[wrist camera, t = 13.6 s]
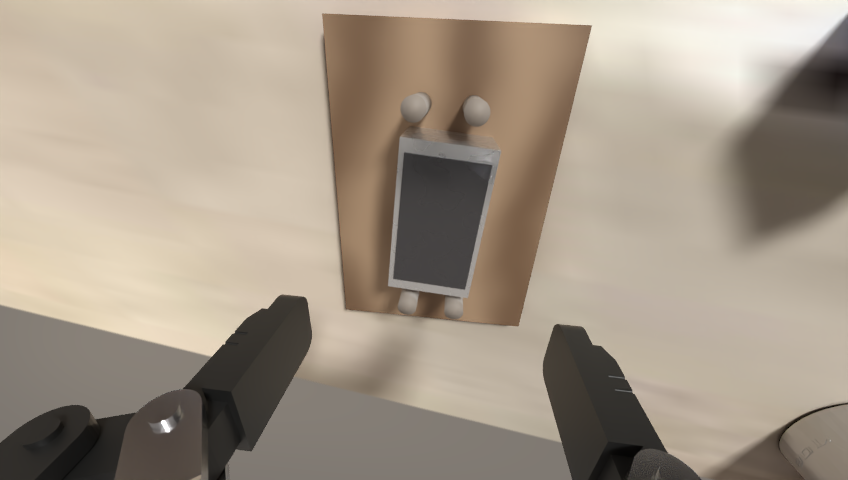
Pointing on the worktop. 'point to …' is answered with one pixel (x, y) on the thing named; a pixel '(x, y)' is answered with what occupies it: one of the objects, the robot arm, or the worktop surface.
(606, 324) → the worktop surface
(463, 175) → the block
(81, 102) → the worktop surface
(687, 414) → the worktop surface
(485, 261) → the pin tray
